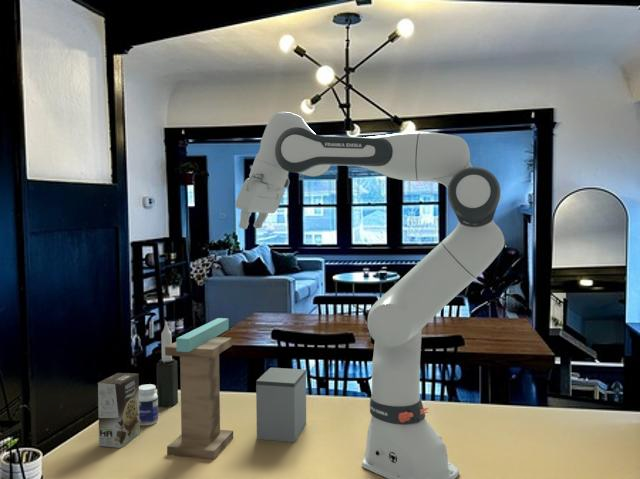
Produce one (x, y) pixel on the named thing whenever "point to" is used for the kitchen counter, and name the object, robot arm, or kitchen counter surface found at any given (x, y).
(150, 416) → the pill bottle
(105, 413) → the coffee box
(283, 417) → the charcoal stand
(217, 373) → the walnut stand
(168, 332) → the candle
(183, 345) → the teal bar
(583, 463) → the kitchen counter surface
